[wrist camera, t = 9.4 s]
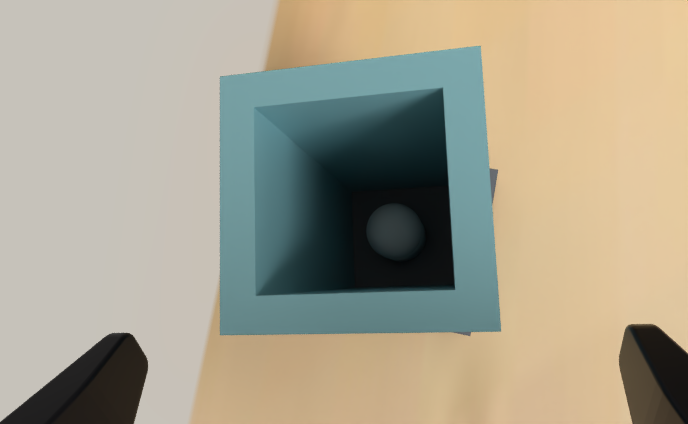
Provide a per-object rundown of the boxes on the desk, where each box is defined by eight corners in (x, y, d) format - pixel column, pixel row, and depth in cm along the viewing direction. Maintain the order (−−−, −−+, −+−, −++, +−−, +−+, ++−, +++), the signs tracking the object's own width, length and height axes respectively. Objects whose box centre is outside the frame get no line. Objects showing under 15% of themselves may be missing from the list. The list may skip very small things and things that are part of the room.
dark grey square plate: (468, 332, 19) (473, 348, 15) (316, 299, 21) (279, 305, 16) (495, 176, 20) (507, 147, 16) (344, 154, 21) (317, 121, 17)
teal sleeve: (475, 303, 18) (500, 331, 9) (337, 307, 19) (219, 335, 10) (466, 165, 19) (480, 45, 9) (333, 175, 20) (219, 76, 10)
